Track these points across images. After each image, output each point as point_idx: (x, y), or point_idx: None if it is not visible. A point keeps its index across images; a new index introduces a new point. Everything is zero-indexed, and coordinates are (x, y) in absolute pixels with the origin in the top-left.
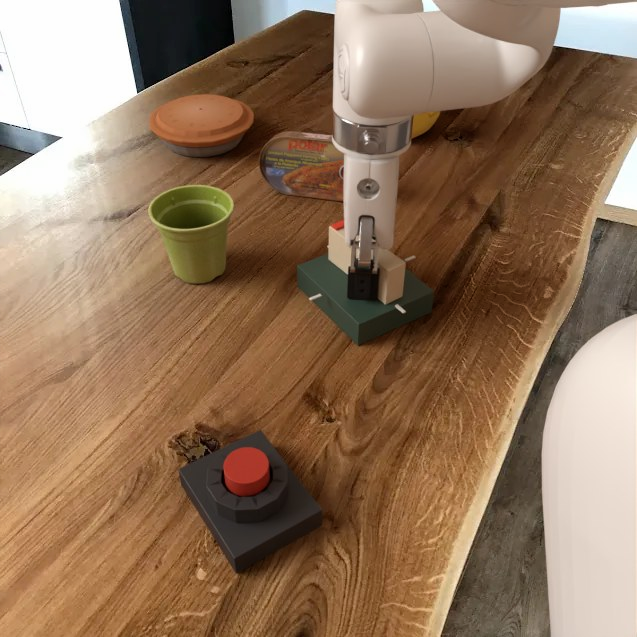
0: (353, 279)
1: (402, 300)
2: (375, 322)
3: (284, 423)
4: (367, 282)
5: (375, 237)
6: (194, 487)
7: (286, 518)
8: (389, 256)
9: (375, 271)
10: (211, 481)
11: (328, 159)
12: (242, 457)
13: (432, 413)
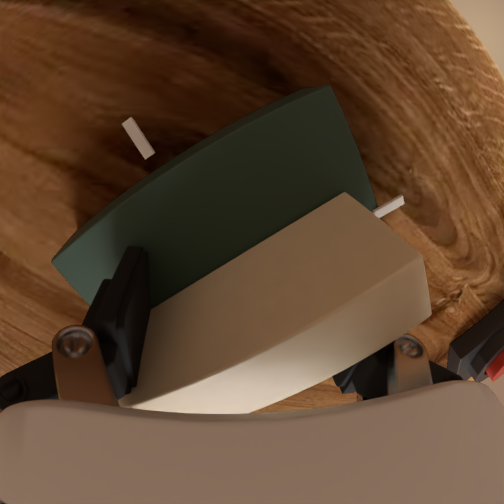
0: None
1: (356, 192)
2: None
3: (441, 333)
4: None
5: (131, 312)
6: (469, 377)
7: None
8: (366, 316)
9: (421, 349)
10: (487, 376)
11: None
12: (499, 373)
13: (495, 176)
